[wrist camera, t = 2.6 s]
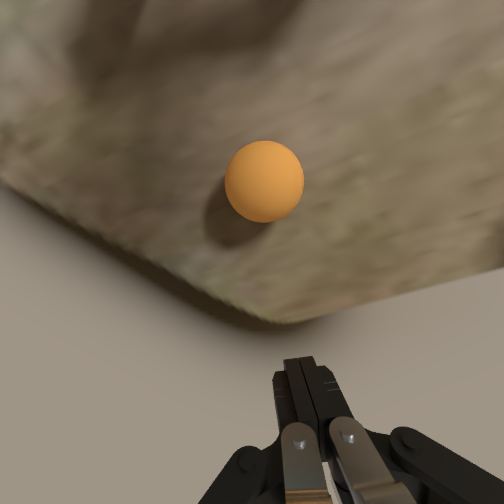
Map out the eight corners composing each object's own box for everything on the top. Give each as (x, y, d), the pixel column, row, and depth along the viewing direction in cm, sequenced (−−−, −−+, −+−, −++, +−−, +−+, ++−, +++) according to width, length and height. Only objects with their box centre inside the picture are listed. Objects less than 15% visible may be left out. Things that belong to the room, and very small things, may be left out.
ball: (221, 149, 22) (215, 141, 16) (292, 141, 22) (311, 130, 16) (231, 219, 24) (228, 234, 18) (296, 212, 24) (315, 224, 18)
